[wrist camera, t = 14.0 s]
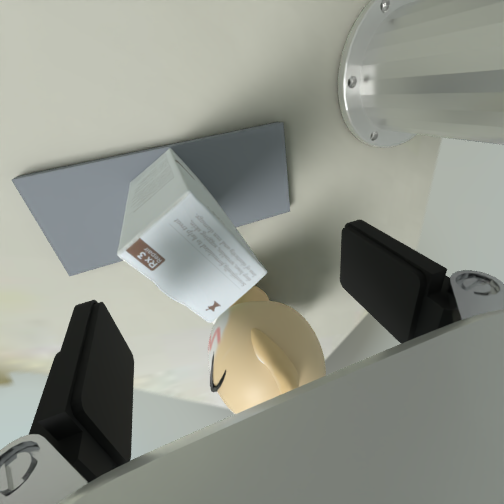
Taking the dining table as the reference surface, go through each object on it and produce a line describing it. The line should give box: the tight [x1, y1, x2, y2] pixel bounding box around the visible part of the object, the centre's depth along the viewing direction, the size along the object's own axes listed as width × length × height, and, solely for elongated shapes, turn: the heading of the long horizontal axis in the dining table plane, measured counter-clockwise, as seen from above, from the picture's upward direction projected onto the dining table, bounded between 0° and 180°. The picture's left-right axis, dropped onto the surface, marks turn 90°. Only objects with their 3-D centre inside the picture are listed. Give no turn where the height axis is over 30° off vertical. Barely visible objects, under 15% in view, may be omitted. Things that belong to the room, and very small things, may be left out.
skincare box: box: [117, 148, 267, 323], centre depth 18 cm, size 6×4×12 cm
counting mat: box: [12, 122, 290, 276], centre depth 23 cm, size 20×8×1 cm, turn 98°
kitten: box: [208, 286, 326, 414], centre depth 25 cm, size 15×10×15 cm, turn 26°
